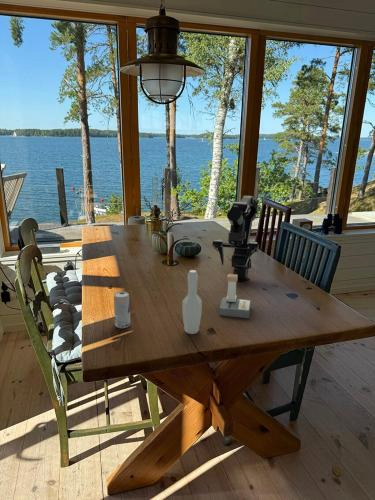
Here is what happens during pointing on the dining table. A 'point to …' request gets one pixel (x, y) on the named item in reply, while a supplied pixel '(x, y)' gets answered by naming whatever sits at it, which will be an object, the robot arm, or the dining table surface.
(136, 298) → the dining table surface
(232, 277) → the slider knob
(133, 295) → the dining table surface
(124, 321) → the energy drink
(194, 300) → the faceted bottle
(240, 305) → the switch unit
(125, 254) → the dining table surface
